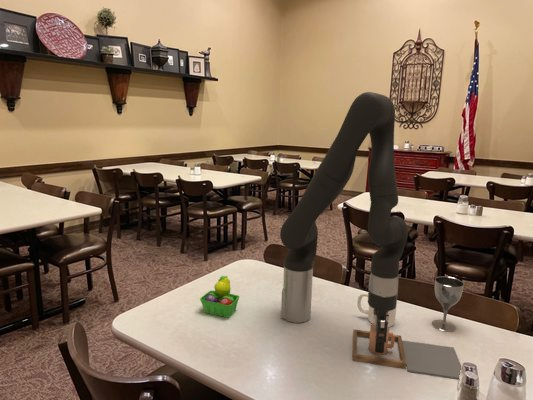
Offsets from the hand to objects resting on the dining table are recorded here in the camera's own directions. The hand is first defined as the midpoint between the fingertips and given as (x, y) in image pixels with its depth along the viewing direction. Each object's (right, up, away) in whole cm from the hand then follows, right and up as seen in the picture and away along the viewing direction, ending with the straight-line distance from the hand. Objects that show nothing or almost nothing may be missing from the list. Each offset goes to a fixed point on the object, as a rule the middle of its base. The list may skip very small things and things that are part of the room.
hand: (378, 343), depth 108 cm
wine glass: (+25, 0, +14) cm, 28 cm away
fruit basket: (-47, +3, +21) cm, 51 cm away
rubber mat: (+13, -3, -4) cm, 14 cm away
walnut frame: (0, -2, 0) cm, 2 cm away
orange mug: (0, -2, 0) cm, 2 cm away
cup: (+4, +1, +17) cm, 17 cm away
